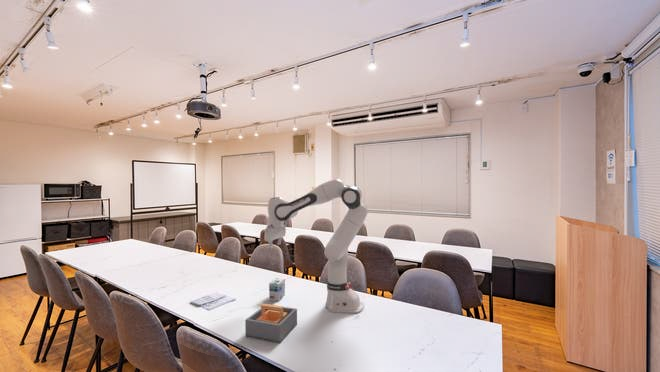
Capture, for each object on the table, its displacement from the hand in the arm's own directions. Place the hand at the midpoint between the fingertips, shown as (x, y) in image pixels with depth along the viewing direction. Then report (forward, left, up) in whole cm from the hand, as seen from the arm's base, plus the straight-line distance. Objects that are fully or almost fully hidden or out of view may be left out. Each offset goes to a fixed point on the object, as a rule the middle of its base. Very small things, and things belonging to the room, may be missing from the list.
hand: (275, 246), depth 169 cm
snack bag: (+37, +11, -35) cm, 52 cm away
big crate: (-15, +31, -34) cm, 48 cm away
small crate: (-15, +30, -33) cm, 48 cm away
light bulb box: (+2, -6, -34) cm, 35 cm away
